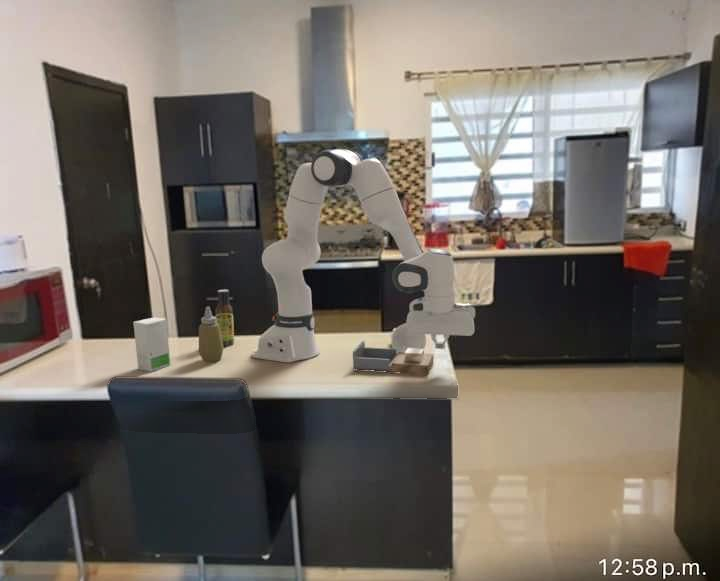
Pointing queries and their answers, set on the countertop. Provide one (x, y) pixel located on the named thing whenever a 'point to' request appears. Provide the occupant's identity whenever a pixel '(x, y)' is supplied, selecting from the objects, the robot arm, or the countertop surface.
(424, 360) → the bench plate
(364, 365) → the box
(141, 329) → the skincare box
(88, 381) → the countertop surface
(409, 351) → the tile
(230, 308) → the sauce bottle
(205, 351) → the squeeze bottle
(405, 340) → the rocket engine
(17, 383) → the countertop surface
